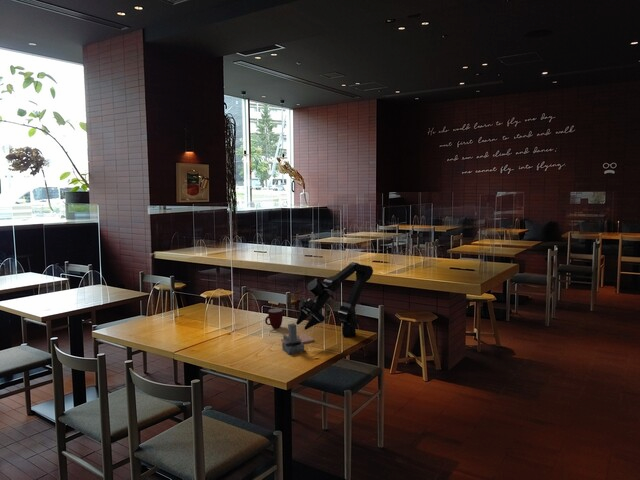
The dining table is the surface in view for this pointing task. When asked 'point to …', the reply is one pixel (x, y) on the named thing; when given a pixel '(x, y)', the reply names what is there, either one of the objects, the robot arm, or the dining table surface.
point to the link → (292, 341)
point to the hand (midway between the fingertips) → (300, 326)
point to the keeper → (298, 338)
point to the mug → (275, 317)
